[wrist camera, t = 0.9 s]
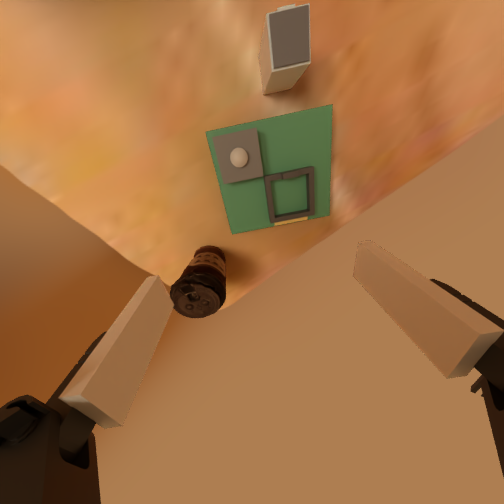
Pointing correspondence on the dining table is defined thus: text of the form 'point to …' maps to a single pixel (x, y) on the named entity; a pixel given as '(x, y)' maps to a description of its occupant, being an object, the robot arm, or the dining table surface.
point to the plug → (285, 47)
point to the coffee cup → (201, 284)
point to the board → (274, 169)
